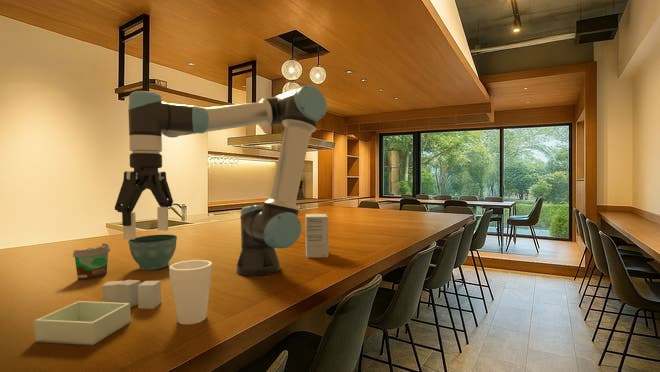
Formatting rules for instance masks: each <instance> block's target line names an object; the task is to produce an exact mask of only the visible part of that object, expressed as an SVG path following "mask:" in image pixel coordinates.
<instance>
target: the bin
mask: <svg viewBox="0 0 660 372" xmlns="http://www.w3.org/2000/svg"><path fill="white" fill-rule="evenodd" d="M131 320H132V319H131V308H130V303H114V302H103V301H92V300H91V301H90V300H89V301H88V300H87V301H85V300H84V301H83V300H78V301H76V302H73V303H71V304H69V305H66V306H65V307H64V306H63V307H61V308H60V309H56V310H55V311H53V312H51V313H48V314H46V315H44V316H42V317H39V318H36V319H34V342H35V343H48V344H49V343H50V344H67V345H82V346H83V345H85V346H94V345H96V344H98V343H99V342H101V341H102V340H104V339H106V338H107V337H109V336H110V335H112V334H114V333H116V332H117V331H118V330H120V329H122V328H124V327H126V326H127V325H128V324H130V323H131Z"/></svg>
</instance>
